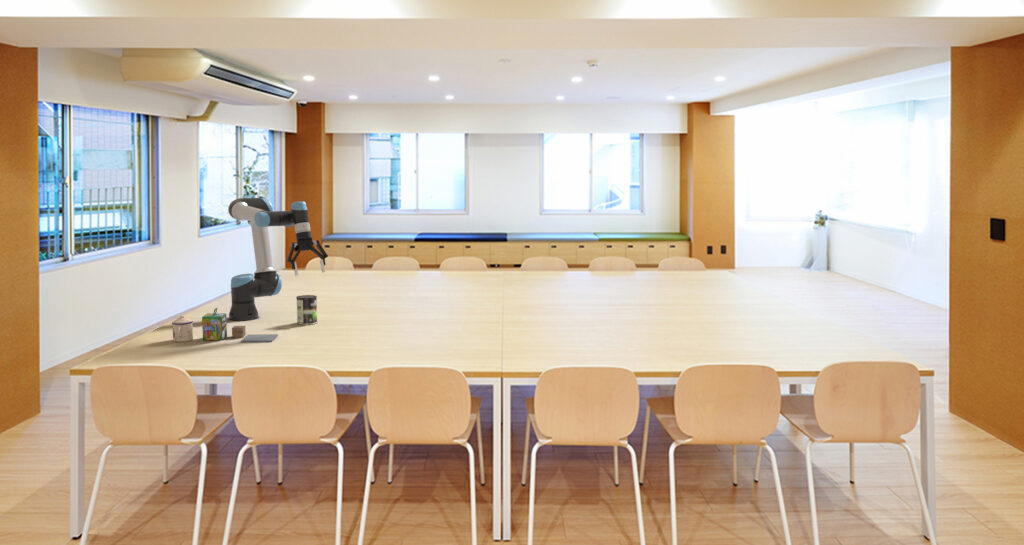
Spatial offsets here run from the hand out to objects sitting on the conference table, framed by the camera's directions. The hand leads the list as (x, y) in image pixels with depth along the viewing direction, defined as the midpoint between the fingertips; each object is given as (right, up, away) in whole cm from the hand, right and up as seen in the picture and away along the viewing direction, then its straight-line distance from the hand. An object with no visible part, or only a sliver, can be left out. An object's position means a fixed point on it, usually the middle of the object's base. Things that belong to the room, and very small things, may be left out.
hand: (310, 273), depth 392 cm
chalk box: (-39, -31, -21) cm, 54 cm away
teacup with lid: (-53, -31, -26) cm, 67 cm away
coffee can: (-6, -26, +18) cm, 32 cm away
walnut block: (-30, -30, -17) cm, 46 cm away
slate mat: (-18, -31, -21) cm, 42 cm away
